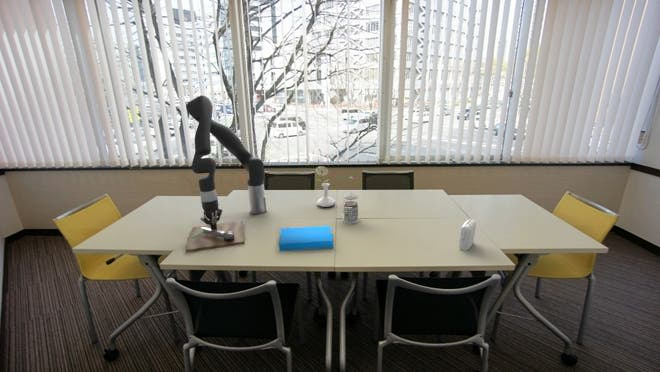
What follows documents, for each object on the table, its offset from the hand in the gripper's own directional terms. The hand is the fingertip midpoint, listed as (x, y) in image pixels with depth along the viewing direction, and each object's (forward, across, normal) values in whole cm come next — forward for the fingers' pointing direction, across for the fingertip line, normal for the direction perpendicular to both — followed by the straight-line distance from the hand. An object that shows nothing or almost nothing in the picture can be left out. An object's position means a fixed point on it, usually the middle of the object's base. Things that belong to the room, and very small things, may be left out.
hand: (214, 230), depth 155 cm
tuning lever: (+1, +3, +4) cm, 5 cm away
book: (+4, -12, +46) cm, 48 cm away
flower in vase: (+4, -59, +35) cm, 68 cm away
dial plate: (+3, 0, +2) cm, 4 cm away
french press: (+4, -43, +57) cm, 71 cm away
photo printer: (+3, -35, +117) cm, 122 cm away
